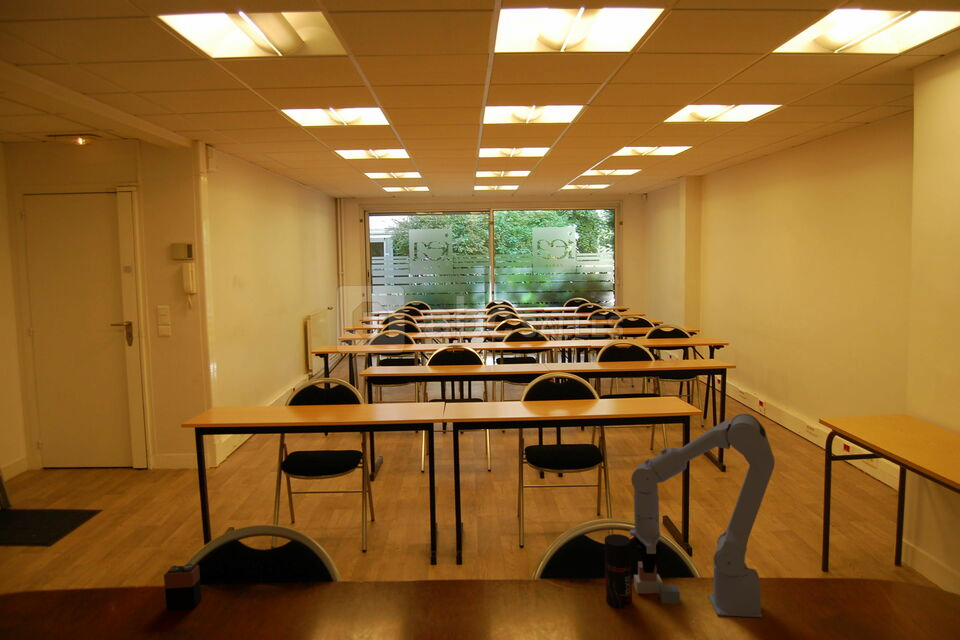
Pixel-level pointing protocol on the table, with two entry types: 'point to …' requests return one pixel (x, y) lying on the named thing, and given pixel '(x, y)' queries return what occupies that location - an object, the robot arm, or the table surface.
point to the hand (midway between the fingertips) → (647, 568)
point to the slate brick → (669, 594)
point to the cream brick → (647, 585)
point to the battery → (182, 587)
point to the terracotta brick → (646, 575)
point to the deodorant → (618, 571)
